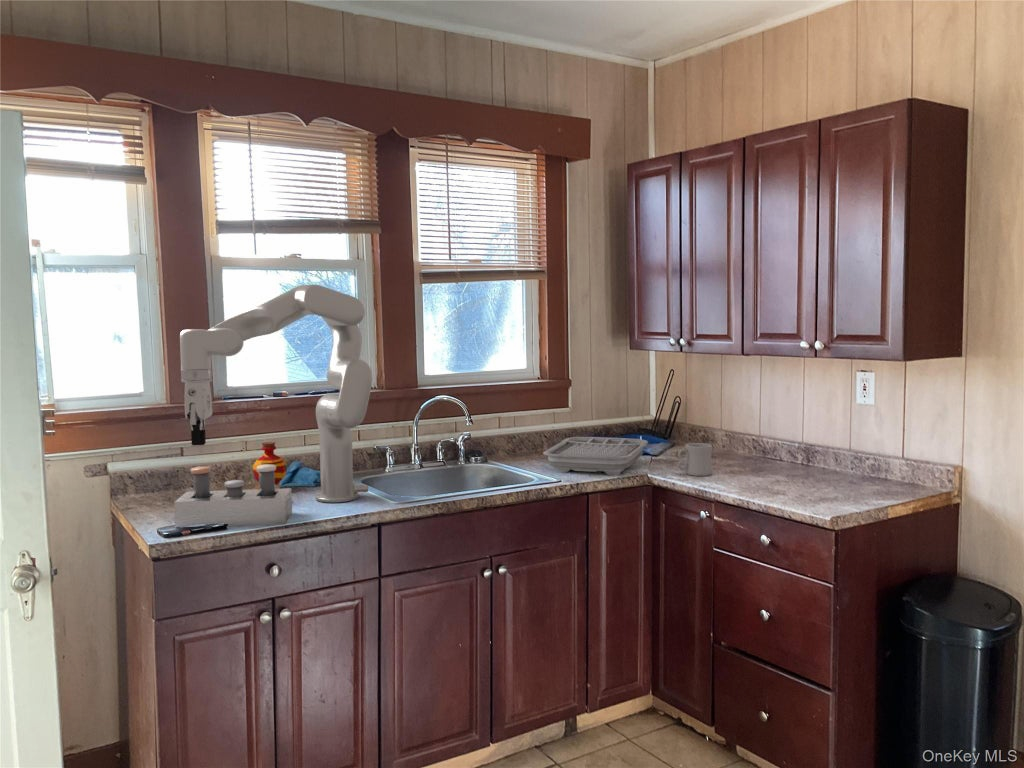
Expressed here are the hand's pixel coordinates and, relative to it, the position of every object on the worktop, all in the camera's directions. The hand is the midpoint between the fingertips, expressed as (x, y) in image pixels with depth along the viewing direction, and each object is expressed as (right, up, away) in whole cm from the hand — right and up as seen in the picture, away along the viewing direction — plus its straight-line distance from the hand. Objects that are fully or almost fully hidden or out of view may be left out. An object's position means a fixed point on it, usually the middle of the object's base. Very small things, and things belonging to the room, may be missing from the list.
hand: (198, 444), depth 217 cm
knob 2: (+17, -14, +4) cm, 23 cm away
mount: (+9, -21, +3) cm, 23 cm away
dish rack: (+114, -14, +74) cm, 136 cm away
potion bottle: (+7, -18, +40) cm, 44 cm away
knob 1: (0, -14, +2) cm, 14 cm away
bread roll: (+11, -19, +22) cm, 32 cm away
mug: (+145, -15, +59) cm, 157 cm away
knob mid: (+9, -18, +3) cm, 20 cm away
